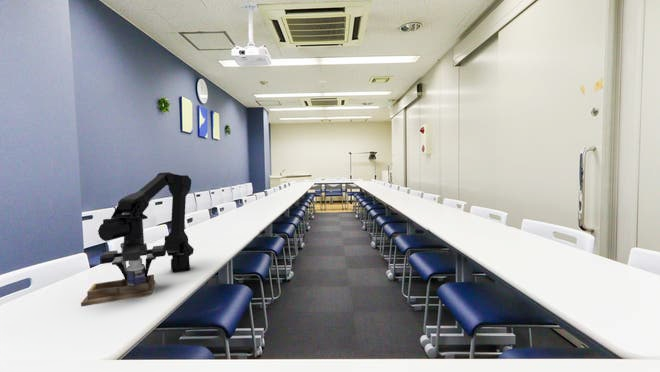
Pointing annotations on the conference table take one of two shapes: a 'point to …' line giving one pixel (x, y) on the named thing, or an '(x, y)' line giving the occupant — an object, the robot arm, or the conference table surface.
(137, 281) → the pill bottle
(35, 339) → the conference table surface
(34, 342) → the conference table surface
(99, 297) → the keyhole track
